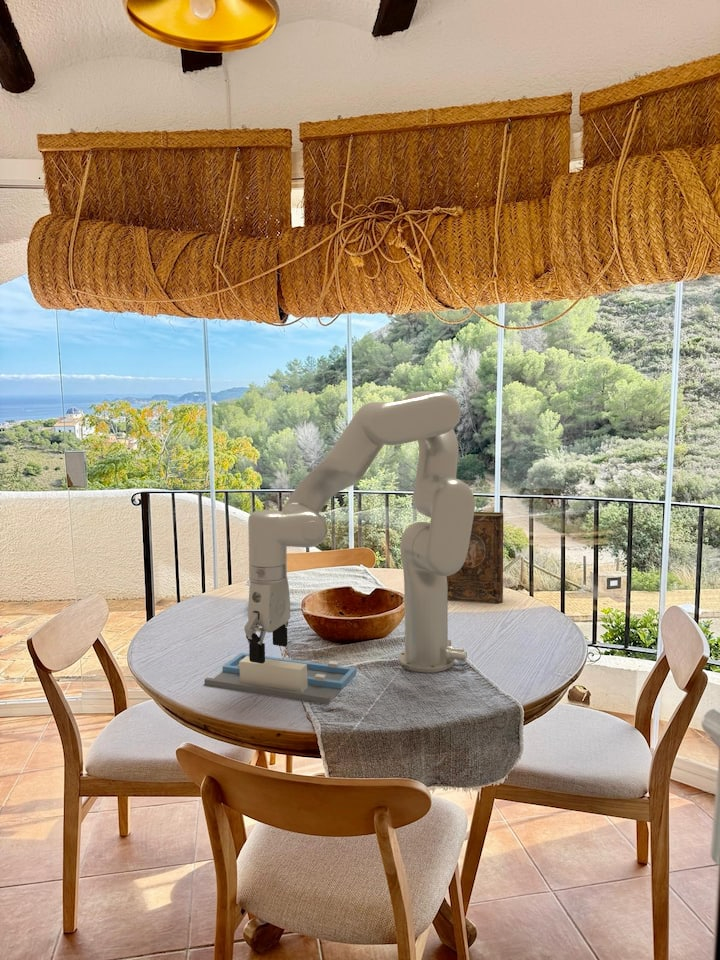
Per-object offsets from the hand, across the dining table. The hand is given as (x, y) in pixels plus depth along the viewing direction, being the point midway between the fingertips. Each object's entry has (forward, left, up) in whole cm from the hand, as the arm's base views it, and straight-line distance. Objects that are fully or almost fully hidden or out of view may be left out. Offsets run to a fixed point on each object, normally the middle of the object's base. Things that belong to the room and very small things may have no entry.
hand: (269, 653), depth 143 cm
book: (-27, -72, -8) cm, 77 cm away
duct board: (-1, -4, -8) cm, 9 cm away
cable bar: (-1, 0, -7) cm, 7 cm away
